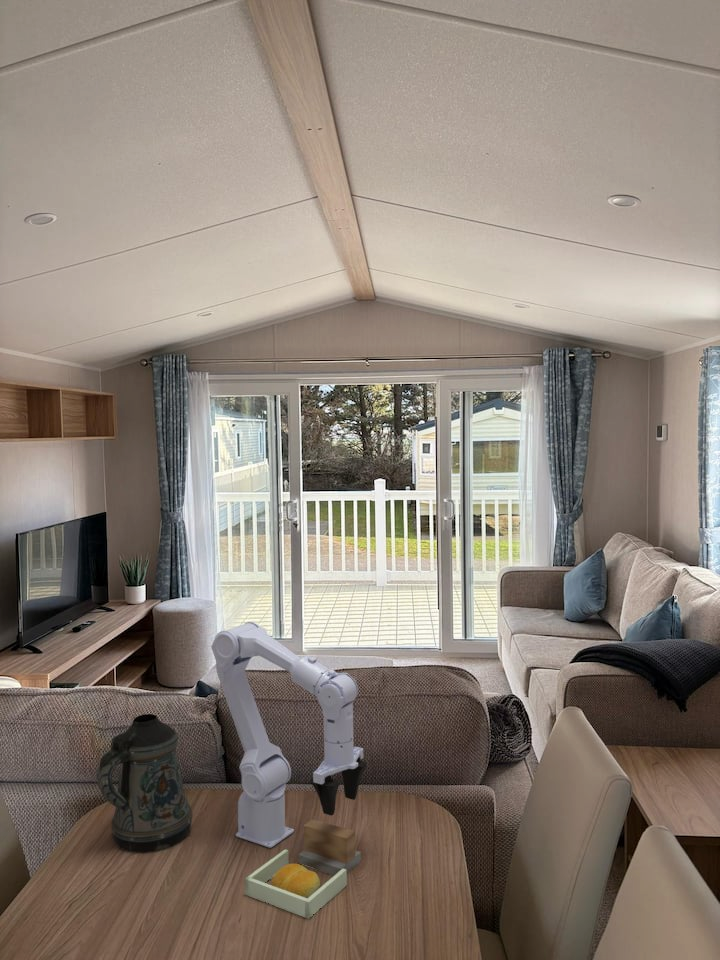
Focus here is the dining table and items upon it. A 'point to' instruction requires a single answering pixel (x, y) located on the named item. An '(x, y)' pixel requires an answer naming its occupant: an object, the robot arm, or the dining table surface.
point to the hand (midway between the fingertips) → (339, 805)
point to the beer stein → (146, 787)
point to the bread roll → (296, 880)
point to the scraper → (328, 848)
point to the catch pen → (286, 899)
